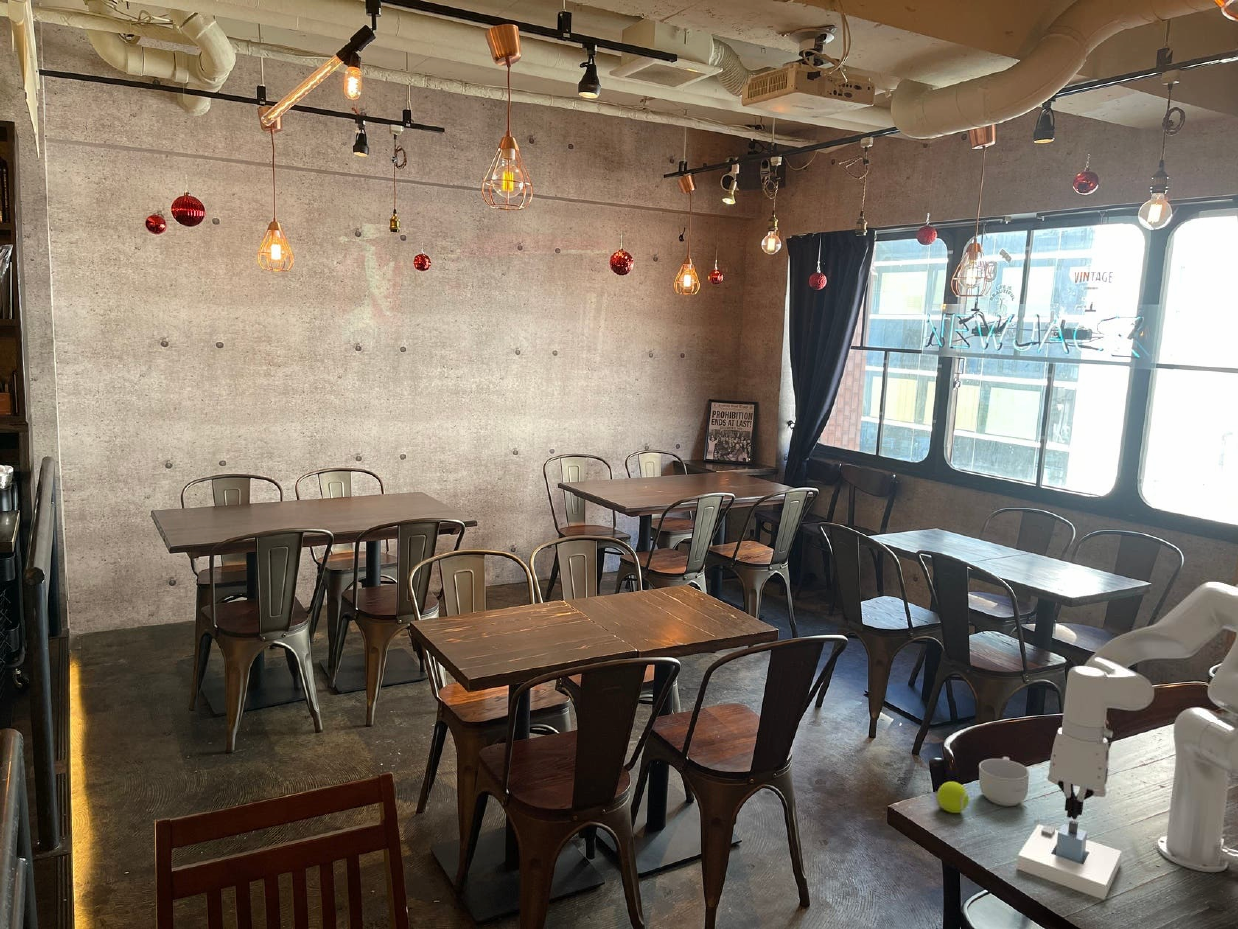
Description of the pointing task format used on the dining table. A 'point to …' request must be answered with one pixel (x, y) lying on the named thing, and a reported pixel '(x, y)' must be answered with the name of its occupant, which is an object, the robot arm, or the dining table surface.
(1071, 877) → the socket
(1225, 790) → the robot arm
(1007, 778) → the teacup
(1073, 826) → the plug
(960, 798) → the tennis ball
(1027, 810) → the dining table surface
